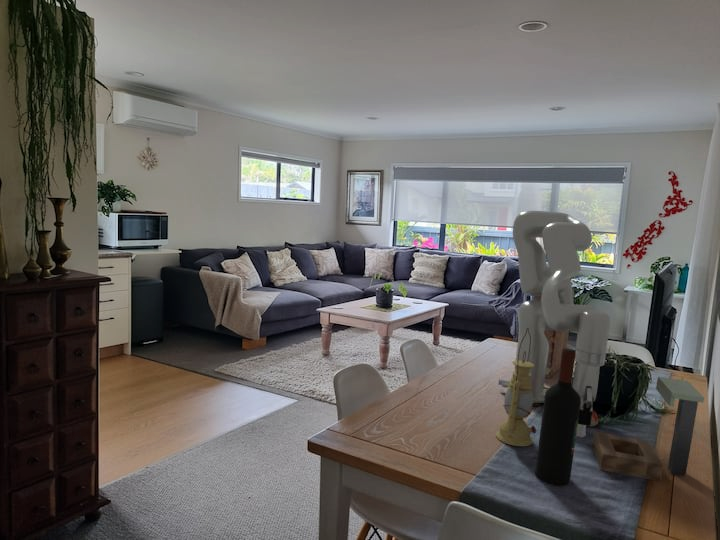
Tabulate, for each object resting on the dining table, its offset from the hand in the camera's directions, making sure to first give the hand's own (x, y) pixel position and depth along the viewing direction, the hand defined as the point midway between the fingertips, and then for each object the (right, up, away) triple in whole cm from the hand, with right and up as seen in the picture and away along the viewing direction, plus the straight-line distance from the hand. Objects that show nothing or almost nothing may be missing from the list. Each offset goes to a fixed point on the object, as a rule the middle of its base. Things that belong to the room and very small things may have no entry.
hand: (581, 417), depth 145 cm
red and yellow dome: (+6, -4, +11) cm, 13 cm away
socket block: (+5, -7, -14) cm, 16 cm away
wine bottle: (-17, -7, -24) cm, 30 cm away
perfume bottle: (0, -5, +1) cm, 5 cm away
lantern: (-20, -4, -5) cm, 21 cm away
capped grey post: (+14, -8, -16) cm, 23 cm away
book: (+11, +2, +59) cm, 60 cm away
